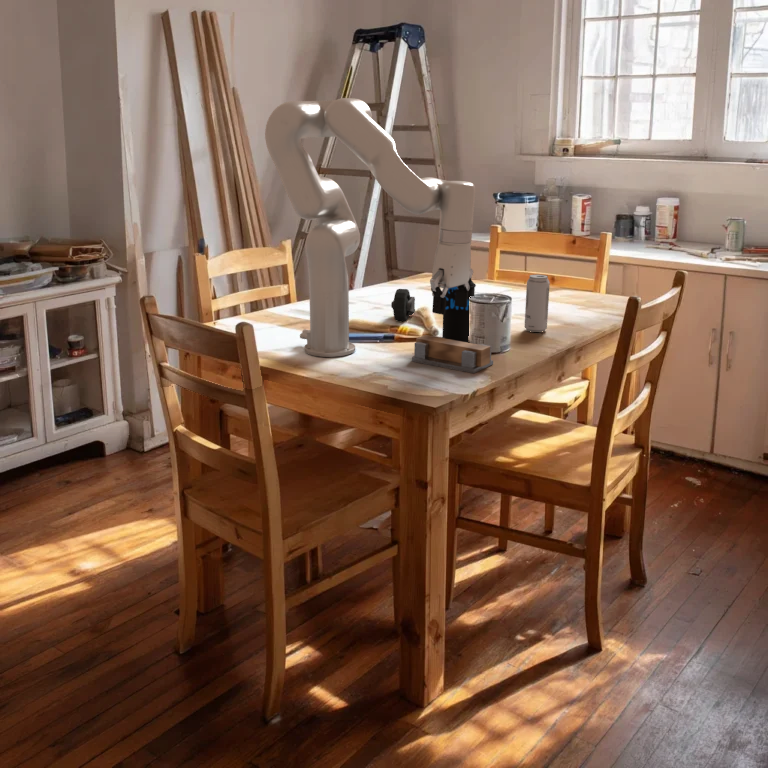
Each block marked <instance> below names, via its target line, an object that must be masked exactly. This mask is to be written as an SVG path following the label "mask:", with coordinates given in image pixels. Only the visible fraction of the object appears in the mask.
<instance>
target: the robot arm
mask: <svg viewBox="0 0 768 768" xmlns="http://www.w3.org/2000/svg"><path fill="white" fill-rule="evenodd" d="M264 131H265V132H264V139H265V145H266V147H267V152H268V153H269V157H270V158H271V160H272V162H273V164H274V167H275V169H276V171H277V172H278V175H279V178H280V180H281V183H282V186H283V187H284V190H285V192H286V194H287V196H288V200H289V201H290V204H291V206H292V208H293V211H294V212H295V214H296V215H297V216H298V217H299V218H301V219H302V220H306V221H312V220H313V221H314V220H315V221H316V224H317V225H315V226H314V227H312V228H311V230H309V232H308V233H307V235H306V239H305V242H304V243H305V245H304V247H305V248H304V249H305V257H306V261H307V262H306V263H307V270H308V289H309V329H306V328H305V329H303V330H302V332H301V333H300V335H299V339H301V340H303V339H304V340H306V344H305V345H304V352H305V353H306V354H308V355H310V356H314V357H321V358H323V357H324V358H335V357H343V356H348V355H351V354H353V353H355V352H356V345H355V344H354V343H352V342H350V319H349V318H350V313H349V312H350V310H349V307H350V306H349V303H350V302H349V301H350V300H349V299H350V297H349V294H350V293H349V292H350V289H349V274H348V273H349V272H348V268H347V267H348V266H347V263H346V262H347V261H346V257H349V256H350V255H352V254H354V253H355V252H356V251H357V249H358V248H359V245H360V242H361V234H360V230H359V226H358V224H357V221H356V219H355V216H354V214H353V212H352V209H351V207H350V205H349V203H348V200H347V197H346V196H345V193H344V192H343V189H342V188H341V187H340V185H339V184H338V183H337V182H336V181H334V180H333V179H331V178H329V177H325V176H320V175H319V173H318V172H317V169H316V167H315V164H314V163H313V159H312V157H311V155H310V153H309V152H308V151H307V150H306V148H305V147H304V145H303V143H302V139H312V138H331V137H332V138H333V137H334V138H335V137H336V139H338V141H340V142H341V144H343V145H344V146H345V147H346V148H347V149H349V150H350V152H352V153H353V154H354V155H355V156H356V157H357V158H358V159H359V160H360V162H362V163H364V165H366V167H367V168H368V170H369V171H370V172H371V175H372V176H373V177H374V179H375V180H376V181H377V183H378V184H379V186H380V187H381V188H382V189H383V190H384V191H385V193H387V195H388V196H390V197H391V198H392V199H393V200H394V201H395V202H396V203H397V204H399V206H400V207H401V208H403V209H404V210H405V211H407V212H409V213H411V214H414V215H422V214H426V213H428V212H431V211H432V212H433V211H436V210H438V211H439V210H440V211H439V225H438V227H439V228H438V241H437V242H438V243H437V245H436V249H435V251H434V252H435V253H434V258H433V265H432V271H431V272H432V273H431V278H430V280H429V284H430V290H431V295H432V313H433V314H438V315H442V316H443V315H444V314H445V311H446V297H445V295H446V292H447V290H448V288H453V287H457V288H458V289H456V290H455V303H454V305H455V306H459V307H464V308H465V307H467V301H468V290H469V289H470V286H469V285H470V283H471V280H472V277H473V276H474V275H473V274H474V269H473V268H471V265H472V264H471V262H472V259H471V257H472V253H471V252H472V250H471V249H472V247H471V245H472V240H473V239H472V238H473V237H472V236H473V224H474V212H475V211H474V210H475V198H476V186H475V184H474V183H472V182H470V181H463V180H445V179H440V178H436V177H431V176H428V177H427V176H425V177H421V178H420V177H419V176H418V175H417V174H416V173H415V172H414V171H412V170H411V169H410V167H408V165H406V164H405V162H404V161H403V160H402V159H401V157H400V156H399V154H398V152H397V149H396V147H397V146H396V142H395V139H394V138H393V137H392V136H391V135H390V134H389V133H388V132H387V131H385V129H383V127H381V126H380V124H378V123H377V122H376V121H375V120H374V119H373V114H372V111H371V108H370V107H369V105H368V104H367V103H366V102H365V101H364V100H361V99H359V98H354V97H350V98H349V97H342V98H338V99H335V100H332V99H331V100H290V101H286V102H284V103H281V104H279V106H277V107H275V108H274V109H273V111H272V112H271V113H270V115H269V117H268V120H267V121H266V124H265V130H264Z"/></svg>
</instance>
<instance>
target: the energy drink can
mask: <svg viewBox="0 0 768 768" xmlns="http://www.w3.org/2000/svg"><path fill="white" fill-rule="evenodd" d="M550 284H551V282H550V280H549V278H548V275H546V274H539V273H537V274H530V275H529V277H528V279H527V281H526V291H525V292H526V293H525V311H524V329H525V330H527V331H531V332H542V331H546V330H547V329H548V317H549V300H550V299H549V298H550V286H551V285H550ZM527 331H526V332H527Z"/></svg>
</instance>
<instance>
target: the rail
mask: <svg viewBox="0 0 768 768" xmlns="http://www.w3.org/2000/svg"><path fill="white" fill-rule="evenodd" d="M434 336H435V335H429V334H424V335H422V336H419V337H416V340H415V343H416V342H422V343H428V344H429V352H428V357H432V358H437V359H442V360H447V361H452V362H457V363H462V351H465V350H466V351H472V352H477V353H476V366H478V367H482V366H485V365H487V364H489V363H490V346H491V345H489V346H484V345H485V344H483V345H479V344H478V343H474V342H473V343H467V342H462V341H456V340H450V339H445V338H439V337H440V336H438V337H434Z"/></svg>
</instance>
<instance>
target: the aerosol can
mask: <svg viewBox="0 0 768 768" xmlns="http://www.w3.org/2000/svg"><path fill="white" fill-rule="evenodd" d="M469 286H470V289H469V290H468V301H467V307H465V308H464V307H459V306H455V305H454V303H455V290H456V289H458V288H457V287H453V288H448V290H447V292H446V295H445V297H446V311H445V314H444V315H442V336H441V337H443V338H445V339H450V340H456V341H462V342H467V343H468V336H469V297H470V296H474V297H475V293H476V291H475V290H476V286H477V285H476V283H474V281H473V280H472V279H471V283H470V285H469ZM470 298H471V297H470Z"/></svg>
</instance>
